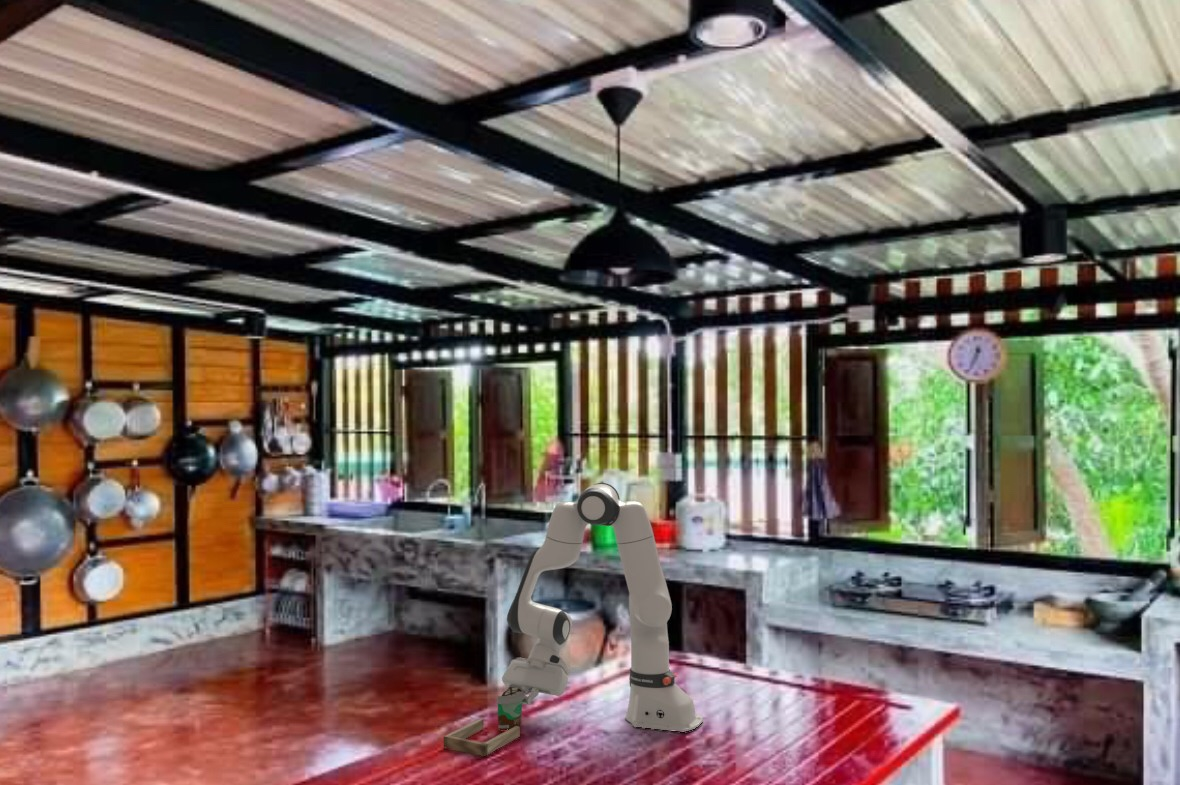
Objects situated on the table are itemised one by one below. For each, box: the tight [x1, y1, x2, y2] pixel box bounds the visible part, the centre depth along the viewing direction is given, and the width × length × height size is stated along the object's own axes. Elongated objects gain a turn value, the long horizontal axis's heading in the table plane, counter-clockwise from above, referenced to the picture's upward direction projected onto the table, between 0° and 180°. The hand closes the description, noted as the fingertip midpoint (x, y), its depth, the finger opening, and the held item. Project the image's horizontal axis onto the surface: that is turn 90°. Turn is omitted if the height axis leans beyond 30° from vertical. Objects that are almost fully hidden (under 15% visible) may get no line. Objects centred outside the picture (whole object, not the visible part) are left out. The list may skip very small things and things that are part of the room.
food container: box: [496, 684, 526, 730], centre depth 258 cm, size 12×6×10 cm, turn 168°
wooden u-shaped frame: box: [443, 718, 521, 757], centre depth 245 cm, size 13×16×3 cm
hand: (524, 703), depth 263 cm, fingers closed
